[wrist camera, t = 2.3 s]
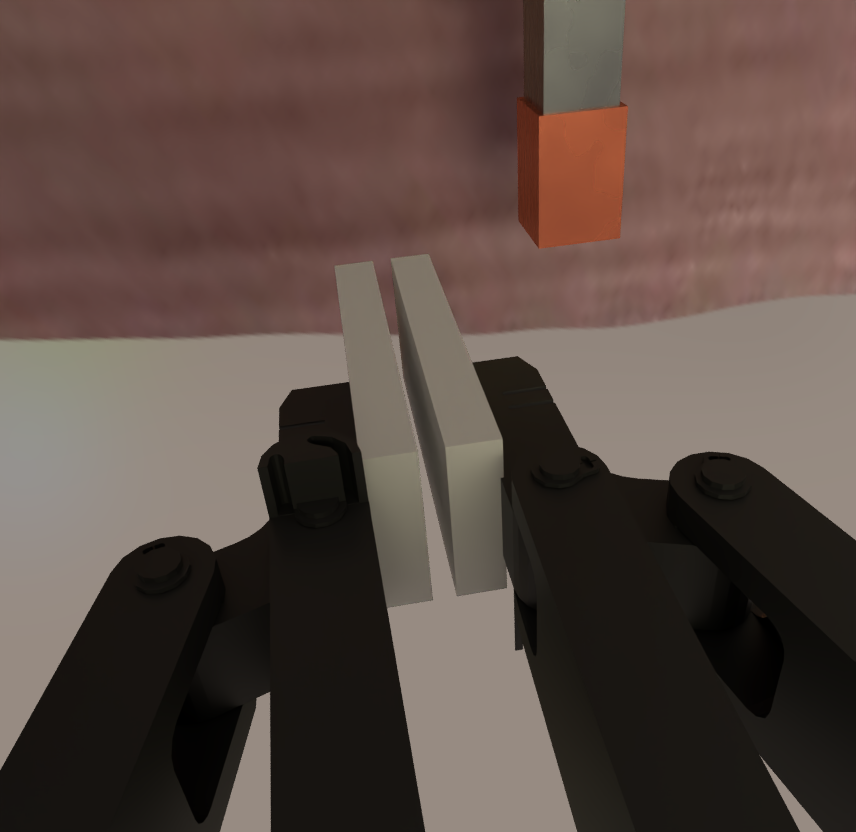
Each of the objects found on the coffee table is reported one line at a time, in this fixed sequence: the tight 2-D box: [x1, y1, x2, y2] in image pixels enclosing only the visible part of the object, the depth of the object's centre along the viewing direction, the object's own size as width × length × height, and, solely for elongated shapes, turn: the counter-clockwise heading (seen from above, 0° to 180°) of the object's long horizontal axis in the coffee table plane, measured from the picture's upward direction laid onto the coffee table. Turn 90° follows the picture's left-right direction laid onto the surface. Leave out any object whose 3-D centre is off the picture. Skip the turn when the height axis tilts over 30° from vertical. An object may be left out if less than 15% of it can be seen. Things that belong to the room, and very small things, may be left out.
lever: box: [517, 0, 628, 248], centre depth 25 cm, size 13×4×3 cm, turn 4°
